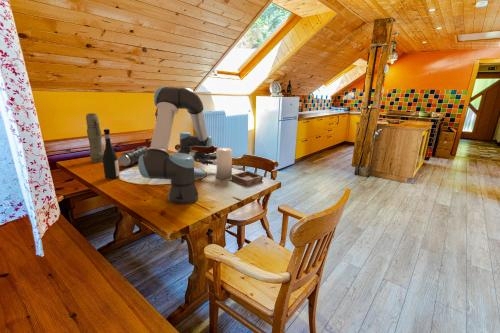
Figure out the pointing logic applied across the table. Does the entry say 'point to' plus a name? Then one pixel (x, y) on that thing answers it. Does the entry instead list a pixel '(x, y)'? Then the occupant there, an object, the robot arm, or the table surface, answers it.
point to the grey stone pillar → (94, 138)
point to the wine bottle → (110, 159)
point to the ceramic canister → (224, 162)
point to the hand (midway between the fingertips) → (223, 161)
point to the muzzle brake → (132, 156)
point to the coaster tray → (247, 178)
